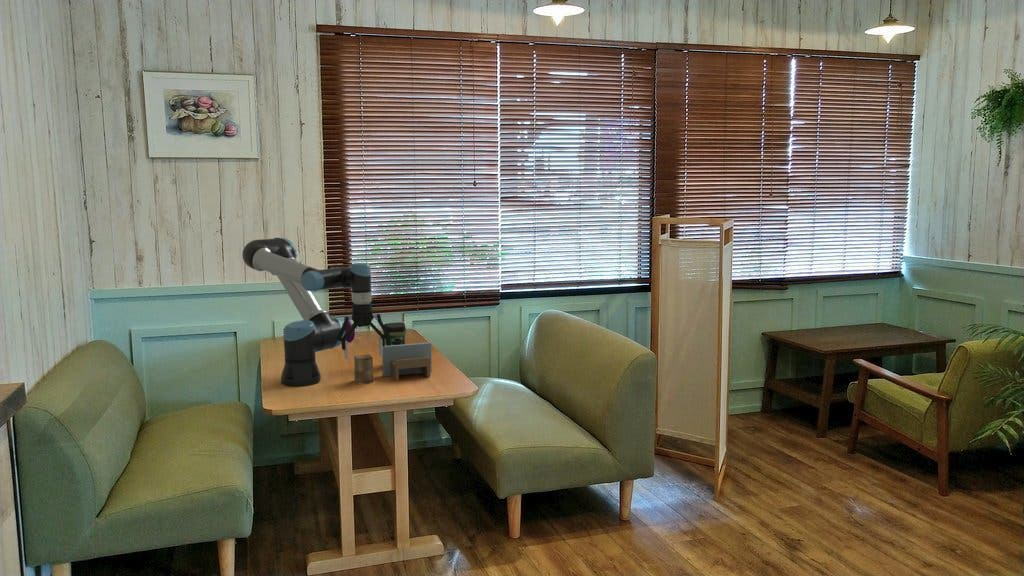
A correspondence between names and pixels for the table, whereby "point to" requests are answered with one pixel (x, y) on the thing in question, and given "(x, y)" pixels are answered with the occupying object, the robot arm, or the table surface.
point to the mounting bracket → (351, 333)
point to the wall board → (406, 359)
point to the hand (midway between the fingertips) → (364, 356)
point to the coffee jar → (395, 333)
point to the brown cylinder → (363, 368)
